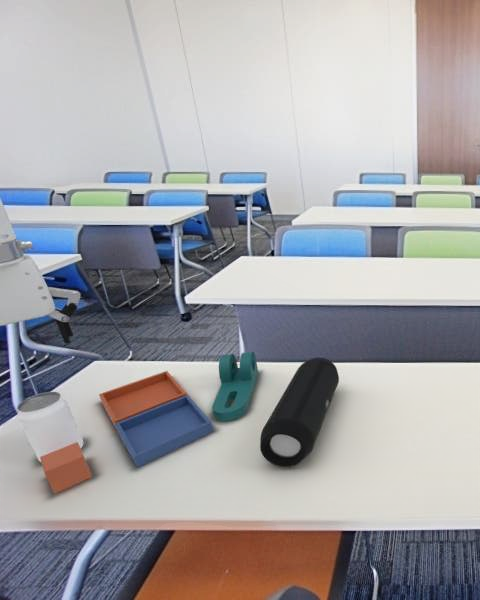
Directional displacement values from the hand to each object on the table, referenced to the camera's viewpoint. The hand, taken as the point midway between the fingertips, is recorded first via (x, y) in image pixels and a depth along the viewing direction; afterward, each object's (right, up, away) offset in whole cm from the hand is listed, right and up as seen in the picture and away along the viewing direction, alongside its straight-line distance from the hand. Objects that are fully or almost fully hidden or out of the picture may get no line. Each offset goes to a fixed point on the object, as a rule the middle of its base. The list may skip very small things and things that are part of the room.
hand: (28, 350), depth 67 cm
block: (+4, -23, +4) cm, 24 cm away
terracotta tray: (+2, -15, +23) cm, 27 cm away
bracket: (+21, -14, +27) cm, 37 cm away
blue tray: (+13, -19, +15) cm, 27 cm away
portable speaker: (+41, -19, +19) cm, 48 cm away
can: (-3, -21, +9) cm, 23 cm away
